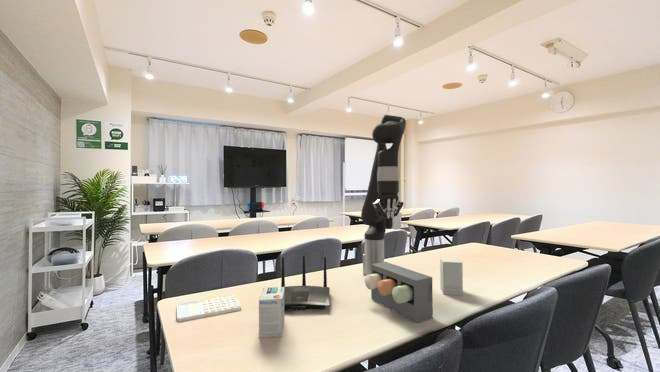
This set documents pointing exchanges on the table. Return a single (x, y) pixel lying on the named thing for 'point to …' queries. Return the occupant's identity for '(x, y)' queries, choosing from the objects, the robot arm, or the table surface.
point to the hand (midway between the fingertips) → (388, 228)
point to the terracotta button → (386, 286)
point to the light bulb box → (271, 312)
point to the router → (305, 293)
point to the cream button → (373, 280)
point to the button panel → (421, 284)
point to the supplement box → (451, 276)
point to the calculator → (207, 308)
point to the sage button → (403, 293)
